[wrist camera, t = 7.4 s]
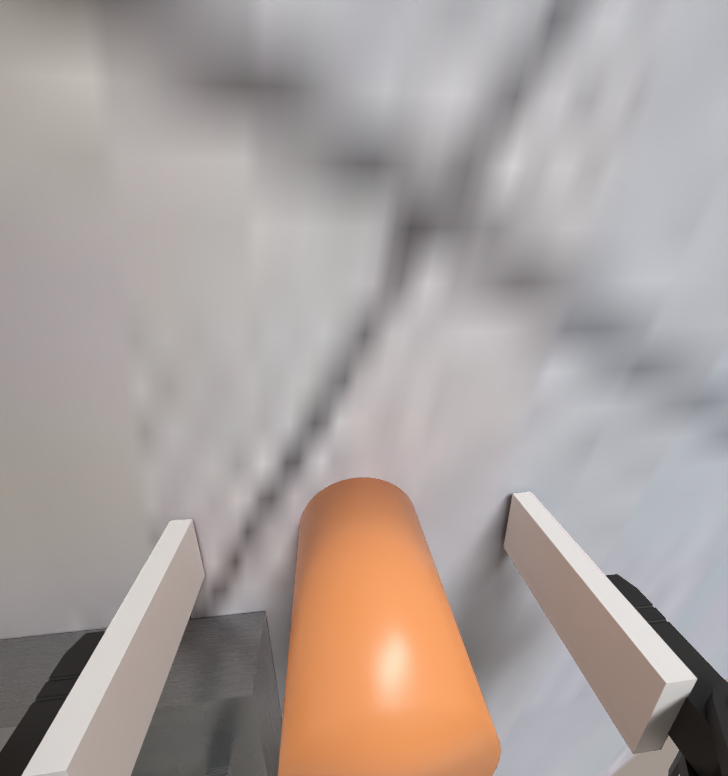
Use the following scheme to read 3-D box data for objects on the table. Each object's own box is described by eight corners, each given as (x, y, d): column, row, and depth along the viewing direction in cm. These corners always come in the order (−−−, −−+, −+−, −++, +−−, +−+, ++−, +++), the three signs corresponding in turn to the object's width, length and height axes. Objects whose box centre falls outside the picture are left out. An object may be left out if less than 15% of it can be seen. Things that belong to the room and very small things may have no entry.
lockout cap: (294, 482, 13) (264, 726, 6) (419, 473, 13) (516, 690, 6) (303, 576, 14) (286, 848, 8) (413, 565, 15) (486, 813, 8)
